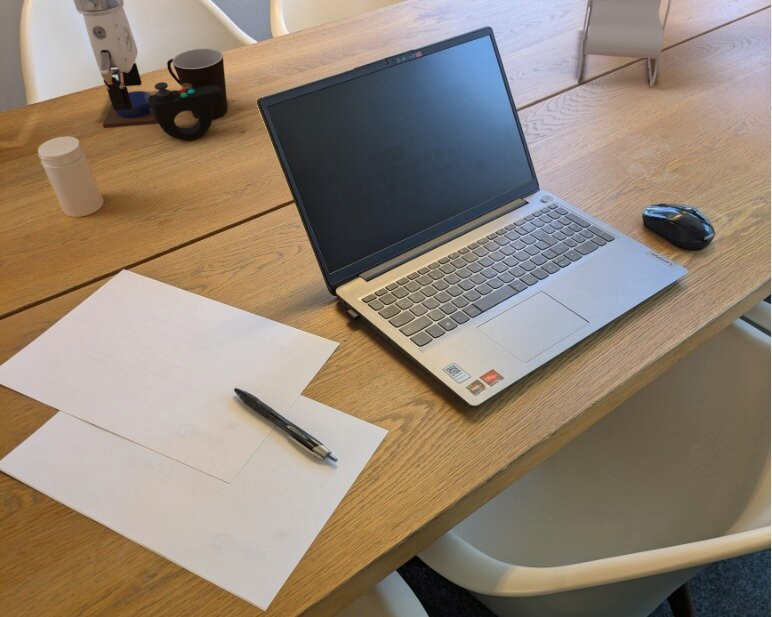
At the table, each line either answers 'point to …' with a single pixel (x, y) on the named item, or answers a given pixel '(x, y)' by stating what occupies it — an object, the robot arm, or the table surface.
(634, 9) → the chair
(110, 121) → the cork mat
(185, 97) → the controller
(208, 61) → the coffee mug
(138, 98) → the jar lid
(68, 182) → the jar
